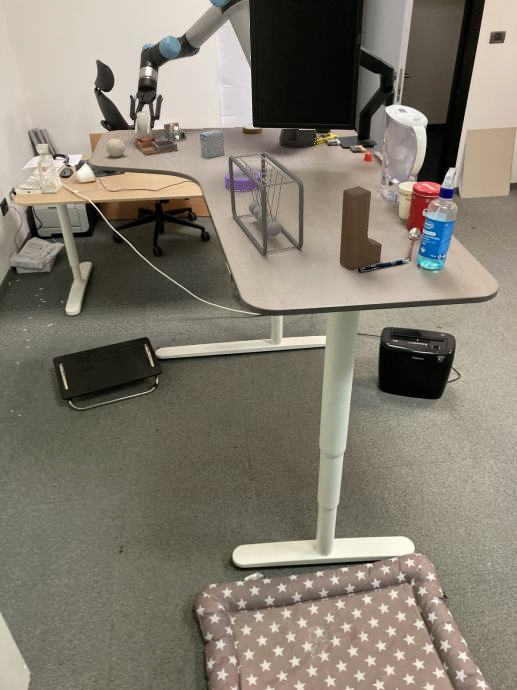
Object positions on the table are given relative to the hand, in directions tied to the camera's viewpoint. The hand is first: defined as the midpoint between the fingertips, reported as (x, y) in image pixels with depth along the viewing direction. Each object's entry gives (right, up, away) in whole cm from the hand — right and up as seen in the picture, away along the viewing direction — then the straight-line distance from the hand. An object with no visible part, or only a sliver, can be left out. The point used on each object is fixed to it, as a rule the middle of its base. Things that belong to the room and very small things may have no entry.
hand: (142, 134), depth 217 cm
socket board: (+5, -4, +4) cm, 7 cm away
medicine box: (+29, -11, -8) cm, 32 cm away
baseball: (-9, -10, -4) cm, 14 cm away
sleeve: (+1, 0, +5) cm, 5 cm away
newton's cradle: (+48, -54, -71) cm, 101 cm away
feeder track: (+11, +5, +16) cm, 19 cm away
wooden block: (+70, -64, -88) cm, 130 cm away
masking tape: (+41, -32, -38) cm, 65 cm away
